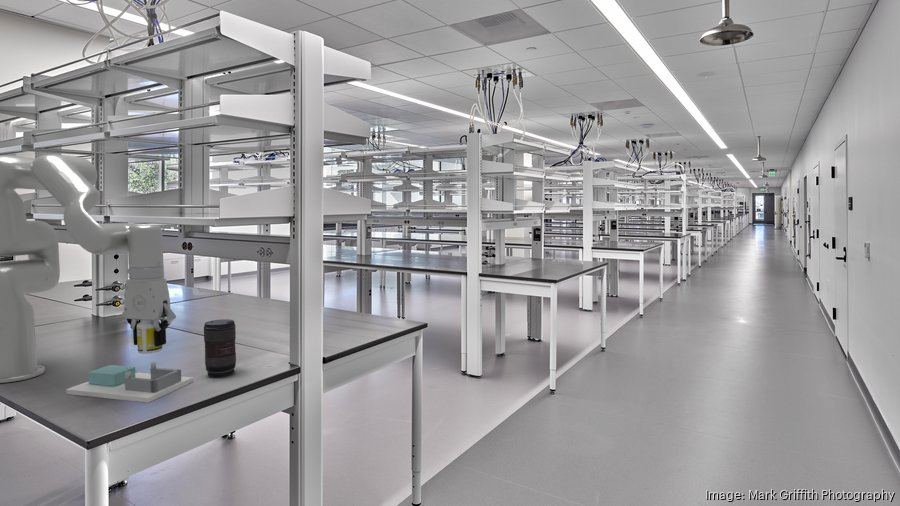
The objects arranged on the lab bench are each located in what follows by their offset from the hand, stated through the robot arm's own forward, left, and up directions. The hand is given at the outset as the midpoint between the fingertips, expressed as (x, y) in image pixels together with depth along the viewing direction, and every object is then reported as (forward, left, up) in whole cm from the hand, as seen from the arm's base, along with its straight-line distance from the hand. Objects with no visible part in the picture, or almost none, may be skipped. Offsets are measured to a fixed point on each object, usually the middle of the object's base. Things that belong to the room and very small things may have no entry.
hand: (150, 343), depth 127 cm
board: (-6, 0, -12) cm, 13 cm away
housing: (-12, 0, -11) cm, 16 cm away
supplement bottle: (0, 0, -2) cm, 2 cm away
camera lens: (+9, +15, -12) cm, 21 cm away
